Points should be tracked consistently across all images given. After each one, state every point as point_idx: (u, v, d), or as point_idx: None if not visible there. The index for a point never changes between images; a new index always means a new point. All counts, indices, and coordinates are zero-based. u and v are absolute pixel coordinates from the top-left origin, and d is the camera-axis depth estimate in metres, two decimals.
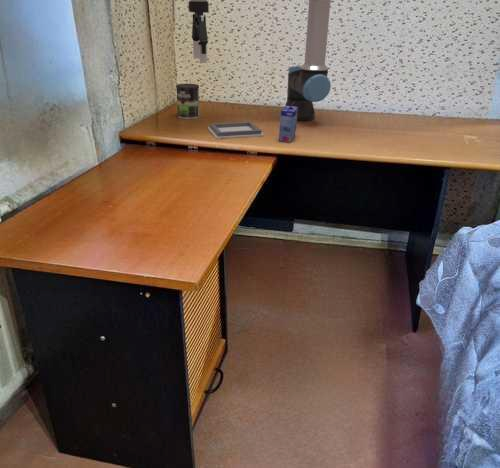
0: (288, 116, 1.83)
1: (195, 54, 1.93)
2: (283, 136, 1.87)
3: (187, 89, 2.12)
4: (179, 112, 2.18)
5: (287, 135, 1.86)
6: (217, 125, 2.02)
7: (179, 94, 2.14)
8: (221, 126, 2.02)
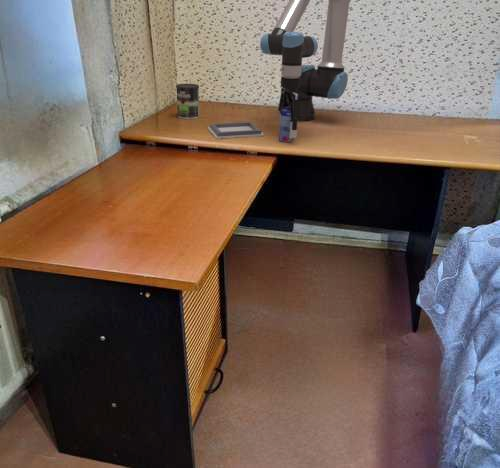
0: (288, 116, 1.82)
1: None
2: (283, 136, 1.86)
3: (187, 89, 2.12)
4: (179, 112, 2.18)
5: (287, 135, 1.86)
6: (217, 125, 2.02)
7: (179, 94, 2.14)
8: (221, 126, 2.02)
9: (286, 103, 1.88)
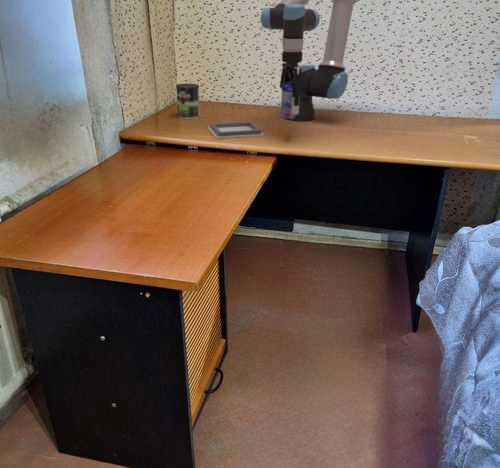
0: (290, 91, 1.79)
1: None
2: (285, 112, 1.83)
3: (187, 89, 2.12)
4: (179, 112, 2.18)
5: (289, 111, 1.82)
6: (217, 125, 2.02)
7: (179, 94, 2.14)
8: (221, 126, 2.02)
9: (288, 79, 1.84)
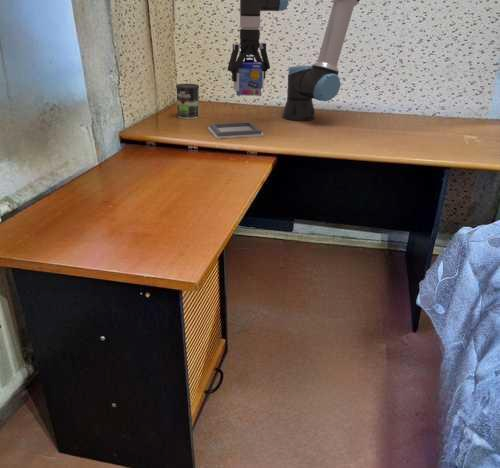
0: None
1: None
2: None
3: (187, 89, 2.12)
4: (179, 112, 2.18)
5: None
6: (217, 125, 2.02)
7: (179, 94, 2.14)
8: (221, 126, 2.02)
9: (256, 58, 1.85)
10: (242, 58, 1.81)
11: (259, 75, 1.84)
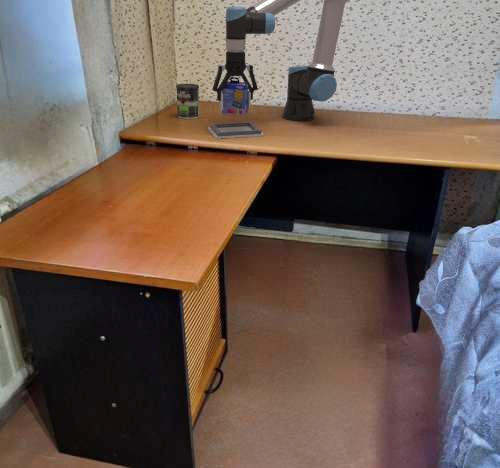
0: None
1: None
2: None
3: (187, 89, 2.12)
4: (179, 112, 2.18)
5: None
6: (217, 125, 2.02)
7: (179, 94, 2.14)
8: (221, 126, 2.02)
9: (243, 79, 1.90)
10: (226, 79, 1.87)
11: (242, 96, 1.89)
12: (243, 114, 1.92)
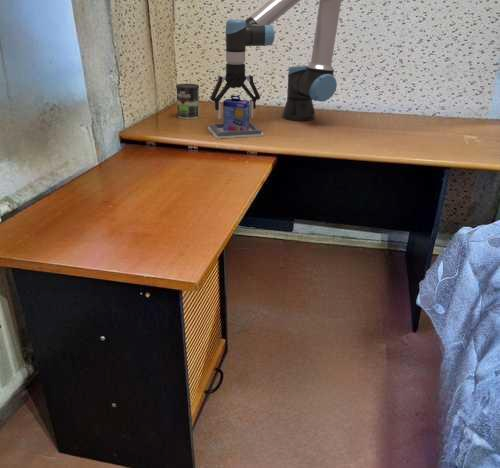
0: None
1: (250, 112, 1.97)
2: None
3: (187, 89, 2.12)
4: (179, 112, 2.18)
5: None
6: (217, 125, 2.02)
7: (179, 94, 2.14)
8: (221, 126, 2.02)
9: (244, 89, 1.92)
10: (225, 89, 1.89)
11: (243, 114, 1.92)
12: None
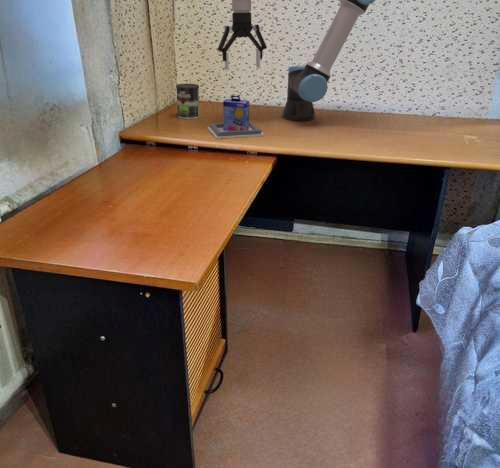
0: None
1: (256, 63, 1.99)
2: None
3: (187, 89, 2.12)
4: (179, 112, 2.18)
5: None
6: (217, 125, 2.02)
7: (179, 94, 2.14)
8: (221, 126, 2.02)
9: (251, 39, 1.93)
10: (232, 39, 1.90)
11: (243, 114, 1.92)
12: None
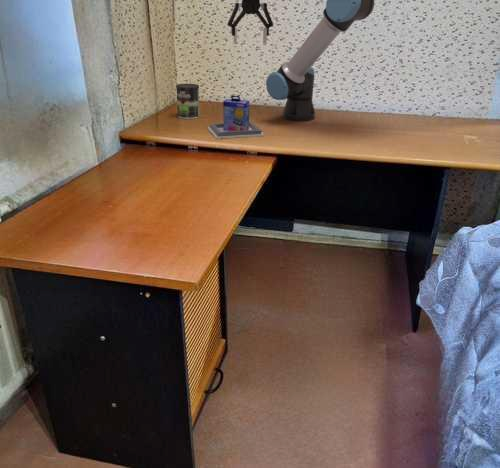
0: None
1: (263, 39, 2.13)
2: None
3: (187, 89, 2.12)
4: (179, 112, 2.18)
5: None
6: (217, 125, 2.02)
7: (179, 94, 2.14)
8: (221, 126, 2.02)
9: (259, 17, 2.08)
10: (241, 15, 2.05)
11: (243, 114, 1.92)
12: None
